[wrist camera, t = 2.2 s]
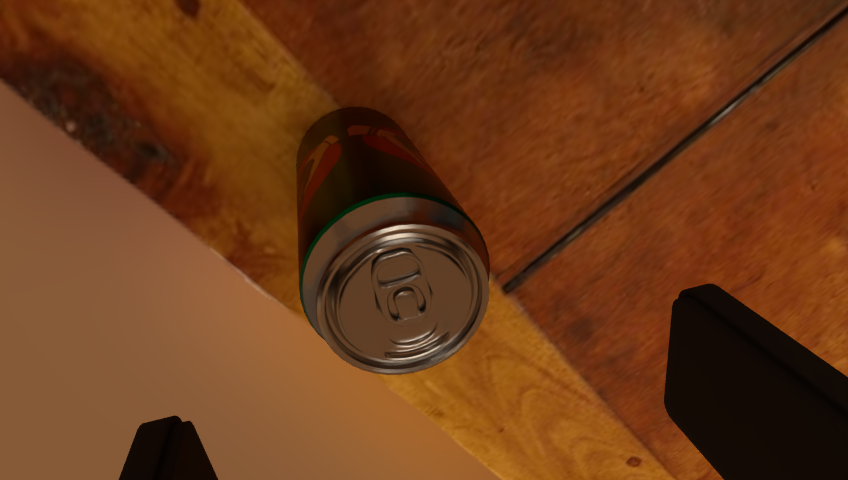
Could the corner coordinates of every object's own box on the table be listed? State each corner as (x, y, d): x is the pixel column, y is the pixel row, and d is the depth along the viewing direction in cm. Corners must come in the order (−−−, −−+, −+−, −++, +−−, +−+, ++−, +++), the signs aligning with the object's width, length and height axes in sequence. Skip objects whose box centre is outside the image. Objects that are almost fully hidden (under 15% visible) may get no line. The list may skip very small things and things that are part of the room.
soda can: (317, 228, 24) (336, 412, 14) (279, 122, 22) (267, 248, 11) (421, 196, 25) (517, 351, 14) (395, 90, 23) (486, 182, 12)
